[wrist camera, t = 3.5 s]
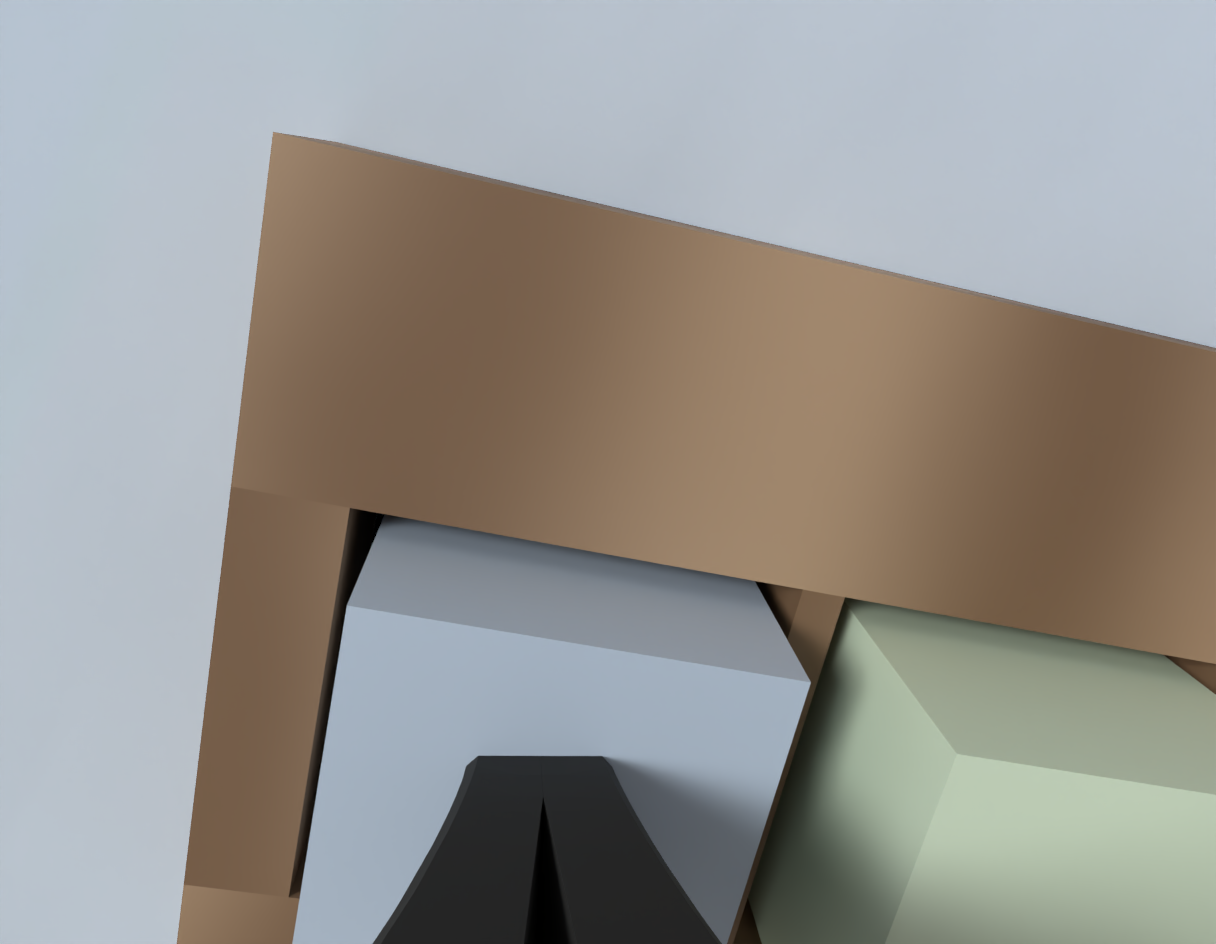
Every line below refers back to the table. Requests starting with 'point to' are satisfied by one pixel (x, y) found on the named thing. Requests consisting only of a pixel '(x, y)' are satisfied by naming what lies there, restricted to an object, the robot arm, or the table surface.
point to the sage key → (992, 792)
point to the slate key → (543, 708)
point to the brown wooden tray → (658, 455)
